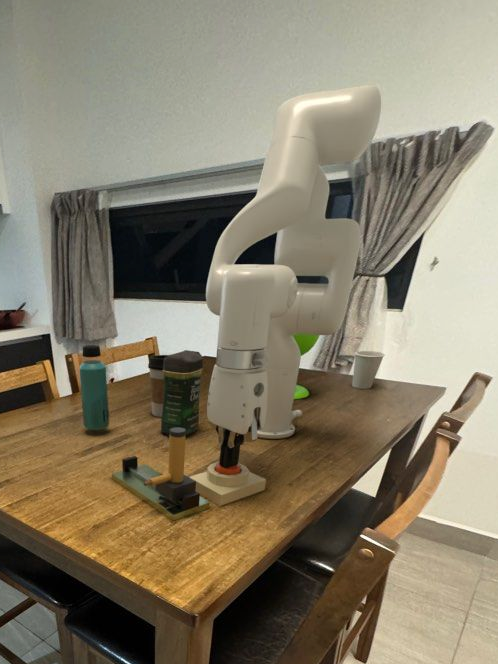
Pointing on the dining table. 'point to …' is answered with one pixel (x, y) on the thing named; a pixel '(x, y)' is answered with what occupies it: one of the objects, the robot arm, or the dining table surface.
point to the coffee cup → (157, 383)
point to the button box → (227, 485)
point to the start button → (228, 469)
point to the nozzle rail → (134, 483)
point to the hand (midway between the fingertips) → (228, 464)
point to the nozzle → (174, 470)
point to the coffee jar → (181, 391)
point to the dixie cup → (366, 368)
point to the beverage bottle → (94, 390)
